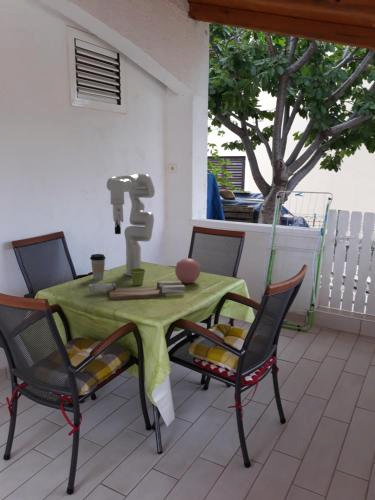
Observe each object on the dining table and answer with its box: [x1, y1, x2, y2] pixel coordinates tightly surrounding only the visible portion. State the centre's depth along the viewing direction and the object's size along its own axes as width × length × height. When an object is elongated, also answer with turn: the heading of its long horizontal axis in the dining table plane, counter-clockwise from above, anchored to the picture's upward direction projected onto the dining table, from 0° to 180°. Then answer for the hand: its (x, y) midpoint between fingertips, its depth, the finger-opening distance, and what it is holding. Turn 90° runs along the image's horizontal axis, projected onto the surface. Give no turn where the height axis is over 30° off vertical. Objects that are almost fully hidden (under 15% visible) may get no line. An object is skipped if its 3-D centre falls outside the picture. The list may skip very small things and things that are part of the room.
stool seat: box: [108, 280, 186, 301], centre depth 228 cm, size 14×42×5 cm, turn 104°
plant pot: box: [130, 267, 146, 286], centre depth 245 cm, size 9×9×9 cm
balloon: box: [174, 257, 201, 284], centre depth 251 cm, size 15×20×15 cm
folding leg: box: [88, 282, 117, 292], centre depth 226 cm, size 15×3×3 cm, turn 103°
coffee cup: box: [89, 253, 107, 281], centre depth 253 cm, size 9×9×15 cm
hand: (117, 233), depth 231 cm, fingers closed
